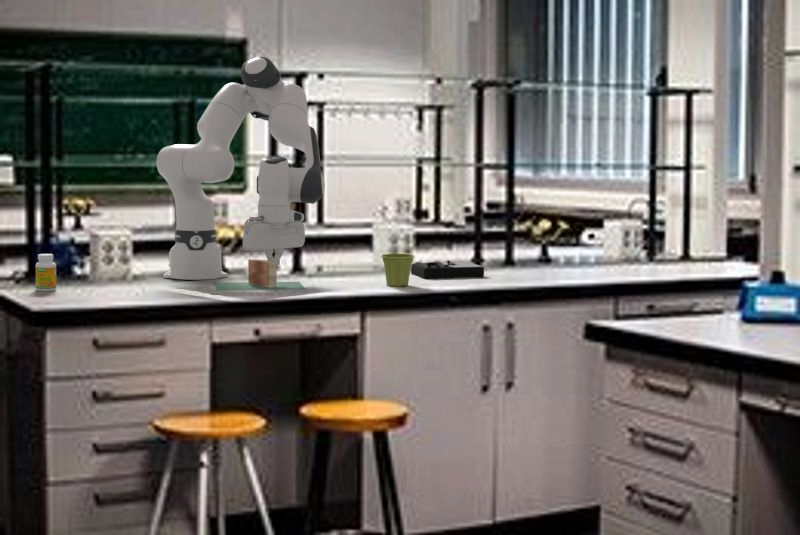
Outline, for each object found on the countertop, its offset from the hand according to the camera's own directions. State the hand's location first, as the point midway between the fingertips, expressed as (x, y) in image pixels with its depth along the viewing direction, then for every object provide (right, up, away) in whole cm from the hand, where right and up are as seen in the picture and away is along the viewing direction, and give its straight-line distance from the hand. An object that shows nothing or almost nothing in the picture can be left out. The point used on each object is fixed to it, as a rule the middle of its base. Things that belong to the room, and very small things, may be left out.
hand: (273, 265), depth 360 cm
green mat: (-4, -7, -3) cm, 8 cm away
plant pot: (+34, -6, +11) cm, 36 cm away
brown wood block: (-3, -6, -2) cm, 7 cm away
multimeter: (+49, -4, +35) cm, 61 cm away
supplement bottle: (-61, -7, -8) cm, 62 cm away
